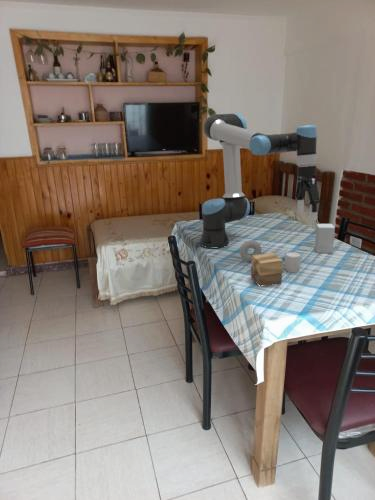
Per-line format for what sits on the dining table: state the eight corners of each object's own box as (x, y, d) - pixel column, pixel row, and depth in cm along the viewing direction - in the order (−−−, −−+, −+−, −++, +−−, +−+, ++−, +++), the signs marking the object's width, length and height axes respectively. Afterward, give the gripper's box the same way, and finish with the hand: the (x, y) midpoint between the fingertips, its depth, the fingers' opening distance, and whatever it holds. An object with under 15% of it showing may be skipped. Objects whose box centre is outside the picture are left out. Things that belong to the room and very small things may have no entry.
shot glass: (281, 267, 152) (282, 252, 150) (297, 266, 152) (298, 251, 150) (287, 273, 145) (288, 257, 143) (303, 272, 146) (304, 256, 144)
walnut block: (251, 278, 143) (251, 266, 142) (271, 275, 145) (272, 264, 143) (259, 287, 135) (259, 275, 133) (281, 284, 136) (281, 272, 135)
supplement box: (332, 253, 165) (335, 227, 161) (316, 253, 166) (318, 227, 162) (330, 248, 172) (332, 223, 167) (314, 247, 173) (316, 223, 169)
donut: (260, 259, 162) (260, 238, 159) (262, 261, 159) (262, 240, 156) (238, 260, 162) (239, 239, 159) (240, 263, 159) (240, 242, 155)
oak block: (251, 266, 142) (251, 255, 140) (272, 264, 143) (273, 252, 141) (260, 275, 133) (260, 263, 132) (282, 272, 135) (283, 260, 133)
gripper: (329, 165, 130) (328, 221, 135) (304, 164, 154) (304, 211, 159) (309, 167, 129) (309, 223, 135) (287, 165, 153) (288, 213, 159)
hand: (306, 217), depth 147 cm, fingers open, 13 cm apart
